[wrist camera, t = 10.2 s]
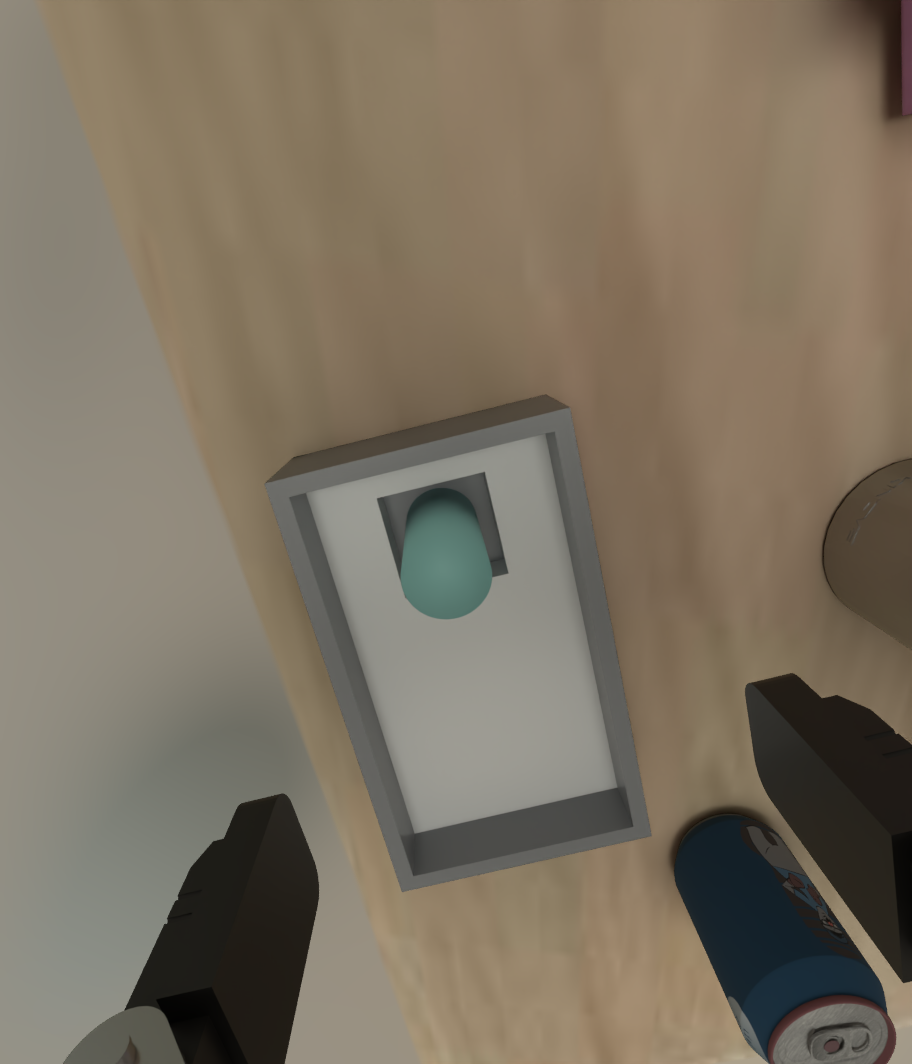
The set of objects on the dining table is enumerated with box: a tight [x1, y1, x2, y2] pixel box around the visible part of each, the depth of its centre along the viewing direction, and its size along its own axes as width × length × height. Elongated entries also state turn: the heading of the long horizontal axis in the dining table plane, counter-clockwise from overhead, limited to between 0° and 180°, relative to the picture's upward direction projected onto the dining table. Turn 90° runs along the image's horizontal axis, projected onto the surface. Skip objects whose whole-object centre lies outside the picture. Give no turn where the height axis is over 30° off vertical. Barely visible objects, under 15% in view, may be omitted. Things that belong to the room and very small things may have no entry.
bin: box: [265, 395, 652, 892], centre depth 33 cm, size 13×22×6 cm, turn 14°
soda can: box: [674, 814, 896, 1064], centre depth 36 cm, size 7×7×12 cm
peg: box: [401, 488, 492, 619], centre depth 30 cm, size 4×4×8 cm
